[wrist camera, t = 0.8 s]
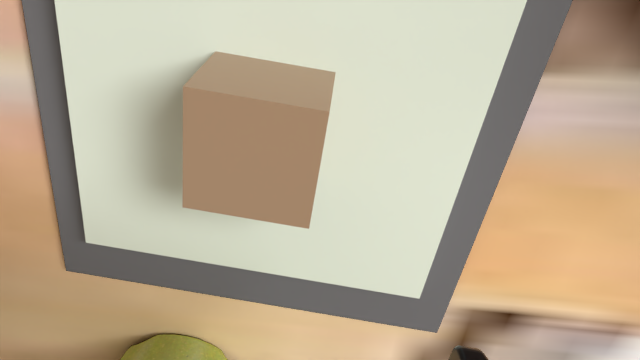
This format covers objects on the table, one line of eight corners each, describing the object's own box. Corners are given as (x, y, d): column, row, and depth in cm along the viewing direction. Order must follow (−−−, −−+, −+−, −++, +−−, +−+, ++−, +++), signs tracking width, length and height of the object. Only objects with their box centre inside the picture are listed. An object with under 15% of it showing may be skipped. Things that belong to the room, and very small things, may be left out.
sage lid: (417, 284, 19) (428, 364, 16) (95, 230, 19) (40, 299, 16) (544, -80, 13) (608, -70, 9) (50, -169, 12) (-62, -190, 9)
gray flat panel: (436, 327, 21) (436, 332, 21) (69, 265, 21) (66, 270, 20) (642, -186, 12) (649, -188, 11) (-21, -308, 11) (-30, -312, 11)
